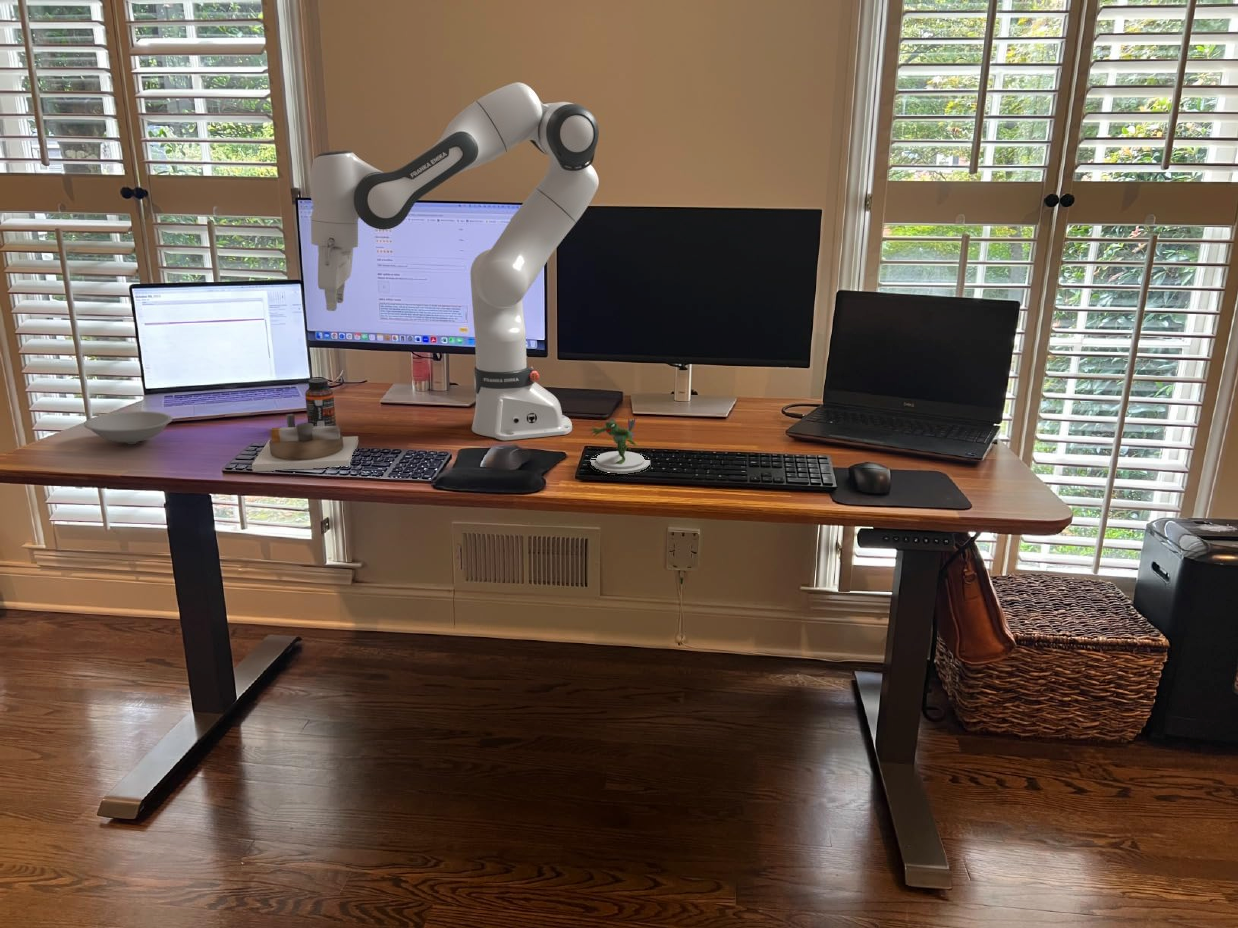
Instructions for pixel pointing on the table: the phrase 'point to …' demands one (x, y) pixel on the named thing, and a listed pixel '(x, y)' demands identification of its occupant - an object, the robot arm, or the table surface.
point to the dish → (128, 425)
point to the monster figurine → (619, 451)
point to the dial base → (337, 459)
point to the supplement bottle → (320, 403)
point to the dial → (305, 441)
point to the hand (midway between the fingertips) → (335, 306)
